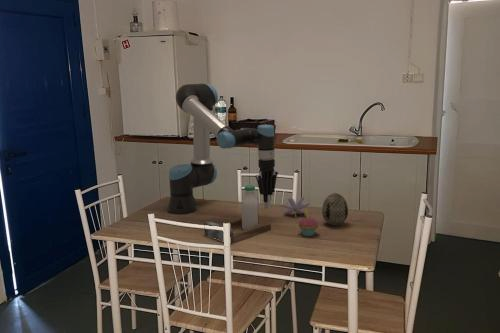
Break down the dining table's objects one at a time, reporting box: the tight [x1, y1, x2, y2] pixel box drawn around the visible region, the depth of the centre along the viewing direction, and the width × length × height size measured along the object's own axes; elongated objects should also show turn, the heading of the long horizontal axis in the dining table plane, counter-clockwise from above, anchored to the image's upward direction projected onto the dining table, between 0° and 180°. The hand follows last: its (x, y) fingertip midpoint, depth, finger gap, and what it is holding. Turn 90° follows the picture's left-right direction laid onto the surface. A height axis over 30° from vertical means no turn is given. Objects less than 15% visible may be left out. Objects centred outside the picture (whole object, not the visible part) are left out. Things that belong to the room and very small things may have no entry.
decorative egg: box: [321, 192, 349, 227], centre depth 206 cm, size 12×12×15 cm
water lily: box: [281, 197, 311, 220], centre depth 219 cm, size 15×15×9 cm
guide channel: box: [204, 217, 272, 245], centre depth 199 cm, size 16×25×6 cm, turn 134°
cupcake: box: [298, 206, 319, 237], centre depth 194 cm, size 9×8×12 cm
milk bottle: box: [241, 184, 260, 231], centre depth 202 cm, size 8×8×20 cm
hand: (267, 208), depth 210 cm, fingers closed
